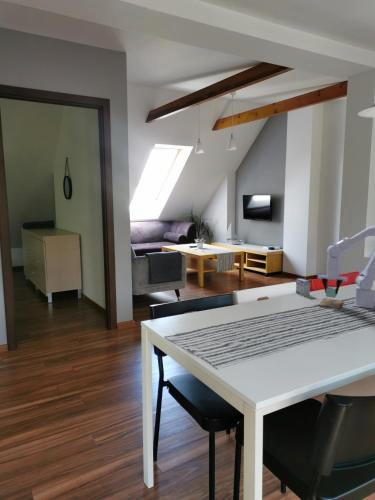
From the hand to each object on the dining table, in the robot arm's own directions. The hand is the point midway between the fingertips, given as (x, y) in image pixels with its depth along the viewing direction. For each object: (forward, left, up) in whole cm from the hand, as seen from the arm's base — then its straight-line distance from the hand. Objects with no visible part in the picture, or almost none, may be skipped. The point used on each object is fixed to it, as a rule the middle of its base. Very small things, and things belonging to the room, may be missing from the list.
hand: (331, 293), depth 201 cm
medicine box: (+18, -15, -6) cm, 24 cm away
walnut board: (0, 0, -6) cm, 6 cm away
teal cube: (0, 0, -2) cm, 2 cm away
